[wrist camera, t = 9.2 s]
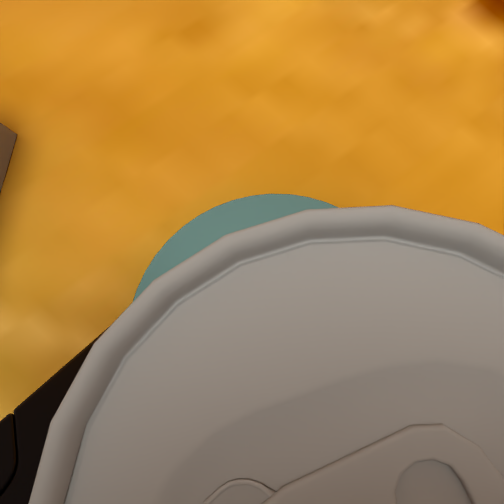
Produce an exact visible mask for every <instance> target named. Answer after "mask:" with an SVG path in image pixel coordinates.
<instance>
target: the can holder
mask: <svg viewBox="0 0 504 504" xmlns="http://www.w3.org/2000/svg"><path fill="white" fill-rule="evenodd" d="M16 137H17V134H16V133H14V132H13V131H11V130H10V129H9V128H7V127H6V126H4V125H3V124H2V123H0V191H1V188H2V185H3V181H4V178H5V174H6V171H7V167H8V164H9V161H10V157H11V154H12V150H13V147H14V144H15V140H16Z"/></svg>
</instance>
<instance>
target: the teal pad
mask: <svg viewBox="0 0 504 504" xmlns="http://www.w3.org/2000/svg"><path fill="white" fill-rule="evenodd" d="M328 208H338V207H336V206H333V205H331V204H329V203H326V202H323V201H319V200H316V199H312V198H309V197H303V196H297V195H290V194H264V195H255V196H249V197H244V198H240V199H236V200H232V201H230V202H227V203H224V204H222V205H219V206H216V207H214V208H212V209H210V210H208V211H207V212H205V213H203V214H201V215H199V216H197V217H196V218H195V219H193V220H192V221H190V222H189V223H188V224H186V225H185V226H183V227H182V228H181V229H180V230H179V231H178V232H177V233H176V234H175V235H173V236H172V237H171V238H170V239H169V240H168V241H167V242H166V244H165V245H164V246H163V247H162V248H161V250H160V251H159V252H158V253H157V254H156V256H155V257H154V259H153V260H152V262H151V264H150V265H149V267H148V268H147V270H146V271H145V273H144V275H143V278H142V280H141V282H140V284H139V286H138V288H137V291H136V294H135V297H134V300H135V299H136V298H137V297H138V296H139V295H140V294H141V293H142V292H143V291H144V290H145V289H146V288H147V287H148V286H149V285H150V284H151V283H152V281H153V280H155V279H156V278H158V277H159V276H161V275H163V274H164V273H166V272H167V271H169V270H171V269H172V268H174V267H175V266H177V265H178V264H180V263H182V262H183V261H185V260H186V259H188V258H190V257H191V256H193V255H194V254H196V253H197V252H199V251H201V250H202V249H204V248H205V247H207V246H209V245H210V244H212V243H213V242H215V241H216V240H218V239H220V238H221V237H223V236H224V235H226V234H229V233H233V232H236V231H239V230H242V229H246V228H249V227H252V226H255V225H258V224H262V223H265V222H268V221H271V220H275V219H278V218H281V217H284V216H287V215H291V214H294V213H297V212H300V211H304V210H308V209H328ZM134 300H133V302H134Z"/></svg>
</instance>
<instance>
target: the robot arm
mask: <svg viewBox="0 0 504 504" xmlns="http://www.w3.org/2000/svg"><path fill="white" fill-rule="evenodd" d="M108 328H109V327H108ZM108 328H107V329H108ZM107 329H106V330H107ZM106 330H105V331H106ZM105 331H104V332H105ZM104 332H103V333H104ZM103 333H102V334H103ZM102 334H100V335H99V336H98V337H97V338H96V339H95V340H94V341H92V342H91V343H90V344H89V345H88V346H87V347H86V348H84V349H83V350H82V351H81V352H80V353H79V354H77V355H76V356H75V357H74V358H73V359H72V360H71V361H69V362H68V363H67V364H66V365H65V366H64V367H63V368H61V369H60V370H59V371H58V372H57V373H56V374H54V375H53V376H52V377H51V378H50V379H49V380H48V381H46V382H45V383H44V384H43V385H42V386H41V387H40V388H38V389H37V390H36V391H35V392H34V393H33V394H31V395H30V396H29V397H28V398H27V399H26V400H25V401H23V402H22V403H21V404H20V405H19V406H18V407H17V408H15V409H14V414H12V413H10V414H8V415H7V416H6V417H5V418H4V419H2V420H1V421H0V504H29V500H30V497H31V493H32V489H33V486H34V482H35V478H36V475H37V471H38V467H39V464H40V460H41V456H42V452H43V449H44V445H45V441H46V438H47V434H48V430H49V427H50V423H51V421H52V419H53V417H54V415H55V413H56V412H57V410H58V408H59V406H60V404H61V402H62V401H63V399H64V397H65V395H66V393H67V392H68V390H69V388H70V386H71V384H72V382H73V381H74V379H75V377H76V375H77V373H78V372H79V370H80V368H81V366H82V364H83V363H84V361H85V359H86V357H87V355H88V353H89V352H90V350H91V348H92V346H93V344H94V343H95V342H96V341H97V340H98V339H99V338H100V336H101V335H102Z"/></svg>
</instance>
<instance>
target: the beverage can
mask: <svg viewBox="0 0 504 504" xmlns="http://www.w3.org/2000/svg"><path fill="white" fill-rule="evenodd" d="M29 504H504V235H501V234H499V233H497V232H495V231H493V230H491V229H489V228H487V227H485V226H483V225H481V224H479V223H474V222H469V221H464V220H460V219H455V218H450V217H445V216H441V215H436V214H431V213H426V212H421V211H417V210H412V209H407V208H402V207H398V206H393V205H389V206H369V207H348V208H328V209H308V210H304V211H300V212H297V213H294V214H291V215H287V216H284V217H281V218H278V219H275V220H271V221H268V222H265V223H262V224H258V225H255V226H252V227H249V228H246V229H242V230H239V231H236V232H233V233H229V234H226V235H224V236H223V237H221V238H220V239H218V240H216V241H215V242H213V243H212V244H210V245H209V246H207V247H205V248H204V249H202V250H201V251H199V252H197V253H196V254H194V255H193V256H191V257H190V258H188V259H186V260H185V261H183V262H182V263H180V264H178V265H177V266H175V267H174V268H172V269H171V270H169V271H167V272H166V273H164V274H163V275H161V276H159V277H158V278H156V279H155V280H153V281H152V283H151V284H150V285H149V286H148V287H147V288H146V289H145V290H144V291H143V292H142V293H141V294H140V295H139V296H138V297H137V298H136V299H135V300H134V302H133V303H132V304H131V305H130V306H129V307H128V308H127V309H126V310H125V311H124V312H123V313H122V314H121V315H120V316H119V317H118V318H117V320H116V321H115V322H114V323H113V324H112V325H111V326H110V327H109V328H108V329H107V330H106V331H105V332H104V333H103V334H102V335H101V336H100V338H99V339H98V340H97V341H96V342H95V343H94V344H93V346H92V348H91V350H90V352H89V353H88V355H87V357H86V359H85V361H84V363H83V364H82V366H81V368H80V370H79V372H78V373H77V375H76V377H75V379H74V381H73V382H72V384H71V386H70V388H69V390H68V392H67V393H66V395H65V397H64V399H63V401H62V402H61V404H60V406H59V408H58V410H57V412H56V413H55V415H54V417H53V419H52V421H51V423H50V427H49V430H48V434H47V438H46V441H45V445H44V449H43V452H42V456H41V460H40V464H39V467H38V471H37V475H36V478H35V482H34V486H33V489H32V493H31V497H30V500H29Z"/></svg>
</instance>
